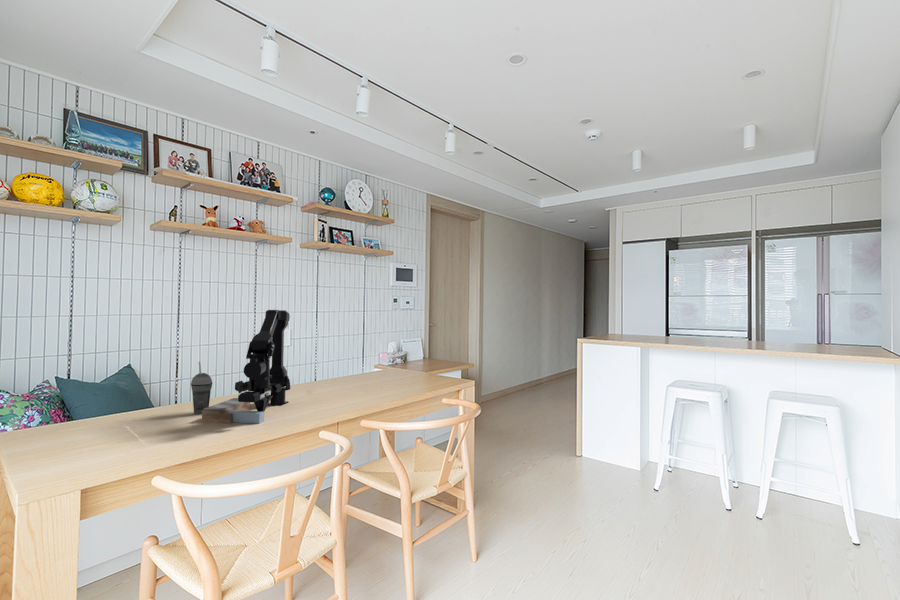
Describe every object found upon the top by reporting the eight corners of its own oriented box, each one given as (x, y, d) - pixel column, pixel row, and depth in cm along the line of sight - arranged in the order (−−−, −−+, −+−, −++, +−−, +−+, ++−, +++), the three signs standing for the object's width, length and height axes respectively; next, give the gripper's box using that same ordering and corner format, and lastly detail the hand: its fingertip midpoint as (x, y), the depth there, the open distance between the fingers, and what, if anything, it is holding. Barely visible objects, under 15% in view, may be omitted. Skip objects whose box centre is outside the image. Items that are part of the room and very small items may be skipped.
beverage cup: (201, 417, 158) (203, 363, 158) (185, 415, 160) (186, 362, 160) (216, 412, 166) (217, 360, 166) (200, 410, 167) (201, 359, 167)
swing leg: (264, 421, 154) (264, 411, 154) (259, 423, 151) (259, 413, 151) (229, 419, 155) (229, 409, 155) (223, 421, 152) (224, 411, 152)
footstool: (233, 409, 170) (233, 397, 170) (259, 411, 168) (259, 399, 168) (201, 422, 152) (201, 408, 152) (230, 424, 150) (230, 410, 150)
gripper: (255, 367, 165) (254, 407, 165) (223, 377, 147) (223, 422, 147) (282, 369, 164) (281, 409, 164) (254, 378, 145) (253, 424, 145)
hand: (260, 415), depth 155 cm, fingers closed
